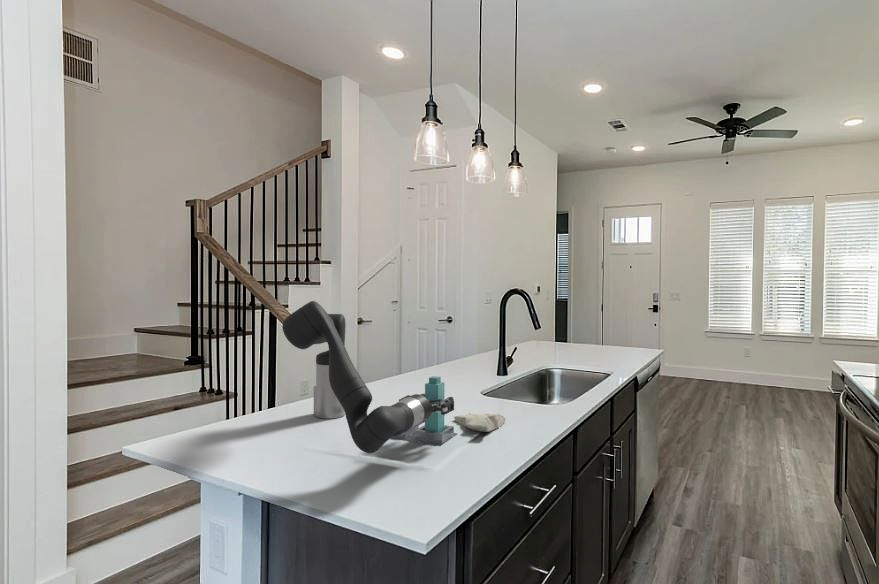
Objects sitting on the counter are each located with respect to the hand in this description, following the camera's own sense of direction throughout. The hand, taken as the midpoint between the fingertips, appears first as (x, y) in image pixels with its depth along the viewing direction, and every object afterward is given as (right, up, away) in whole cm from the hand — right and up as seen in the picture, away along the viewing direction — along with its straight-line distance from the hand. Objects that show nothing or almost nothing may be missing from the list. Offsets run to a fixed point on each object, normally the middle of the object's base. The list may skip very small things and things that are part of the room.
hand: (437, 398), depth 145 cm
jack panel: (-6, -11, +1) cm, 13 cm away
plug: (-1, -10, -1) cm, 10 cm away
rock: (+12, -12, +12) cm, 21 cm away
